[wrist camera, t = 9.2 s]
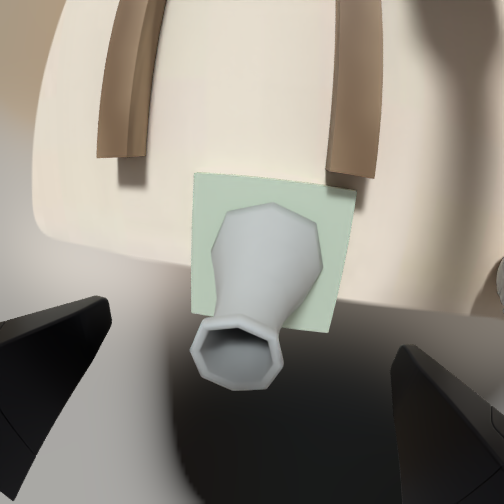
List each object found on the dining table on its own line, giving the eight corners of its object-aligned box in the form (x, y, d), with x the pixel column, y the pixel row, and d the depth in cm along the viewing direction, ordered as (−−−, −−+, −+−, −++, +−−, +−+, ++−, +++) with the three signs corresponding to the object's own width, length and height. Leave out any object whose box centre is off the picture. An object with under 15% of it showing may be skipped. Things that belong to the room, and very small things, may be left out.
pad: (354, 189, 17) (356, 191, 16) (327, 326, 20) (328, 333, 20) (198, 172, 18) (194, 173, 17) (195, 307, 21) (191, 312, 21)
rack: (364, -63, 10) (370, -83, 7) (364, 175, 17) (376, 179, 14) (158, -59, 11) (144, -75, 9) (117, 156, 19) (91, 158, 16)
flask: (215, 194, 18) (128, 241, 8) (332, 209, 17) (373, 277, 7) (209, 298, 20) (149, 400, 11) (312, 313, 19) (316, 433, 10)
